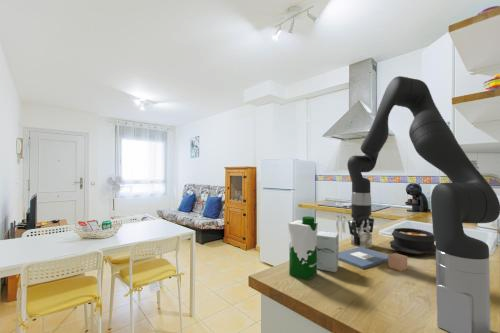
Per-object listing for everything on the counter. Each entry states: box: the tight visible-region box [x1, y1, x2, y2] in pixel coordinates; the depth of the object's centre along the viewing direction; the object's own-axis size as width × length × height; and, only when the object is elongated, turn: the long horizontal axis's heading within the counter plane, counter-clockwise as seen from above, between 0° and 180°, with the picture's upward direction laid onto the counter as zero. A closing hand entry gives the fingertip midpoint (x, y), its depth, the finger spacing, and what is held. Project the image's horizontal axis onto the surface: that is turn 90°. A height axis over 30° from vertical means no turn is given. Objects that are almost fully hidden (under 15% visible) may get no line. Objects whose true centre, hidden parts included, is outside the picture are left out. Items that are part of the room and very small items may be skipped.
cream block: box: [350, 231, 373, 249], centre depth 100 cm, size 5×6×5 cm
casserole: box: [389, 227, 436, 255], centre depth 110 cm, size 25×19×8 cm
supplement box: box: [317, 230, 340, 273], centre depth 90 cm, size 7×7×13 cm
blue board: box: [338, 246, 389, 270], centre depth 99 cm, size 20×15×1 cm
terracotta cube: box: [387, 252, 409, 272], centre depth 90 cm, size 4×4×4 cm
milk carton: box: [287, 216, 319, 281], centre depth 84 cm, size 9×9×20 cm
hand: (361, 244), depth 100 cm, fingers closed on cream block, 5 cm apart
